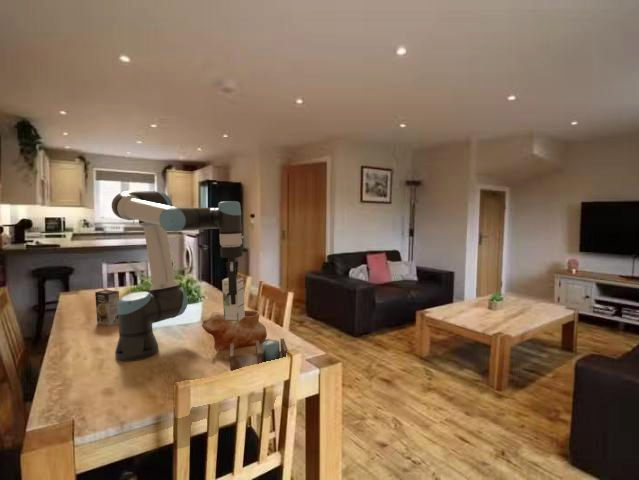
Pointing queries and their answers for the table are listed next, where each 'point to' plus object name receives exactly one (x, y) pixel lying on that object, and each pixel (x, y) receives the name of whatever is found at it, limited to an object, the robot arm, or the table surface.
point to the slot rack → (251, 356)
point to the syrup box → (240, 300)
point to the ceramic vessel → (235, 330)
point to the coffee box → (107, 307)
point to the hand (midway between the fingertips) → (234, 310)
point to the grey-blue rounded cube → (271, 350)
